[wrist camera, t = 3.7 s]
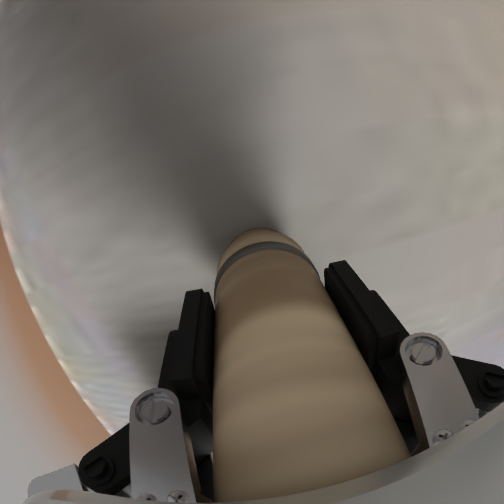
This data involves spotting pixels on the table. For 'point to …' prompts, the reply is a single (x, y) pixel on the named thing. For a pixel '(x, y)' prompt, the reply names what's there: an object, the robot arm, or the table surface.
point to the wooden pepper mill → (289, 380)
